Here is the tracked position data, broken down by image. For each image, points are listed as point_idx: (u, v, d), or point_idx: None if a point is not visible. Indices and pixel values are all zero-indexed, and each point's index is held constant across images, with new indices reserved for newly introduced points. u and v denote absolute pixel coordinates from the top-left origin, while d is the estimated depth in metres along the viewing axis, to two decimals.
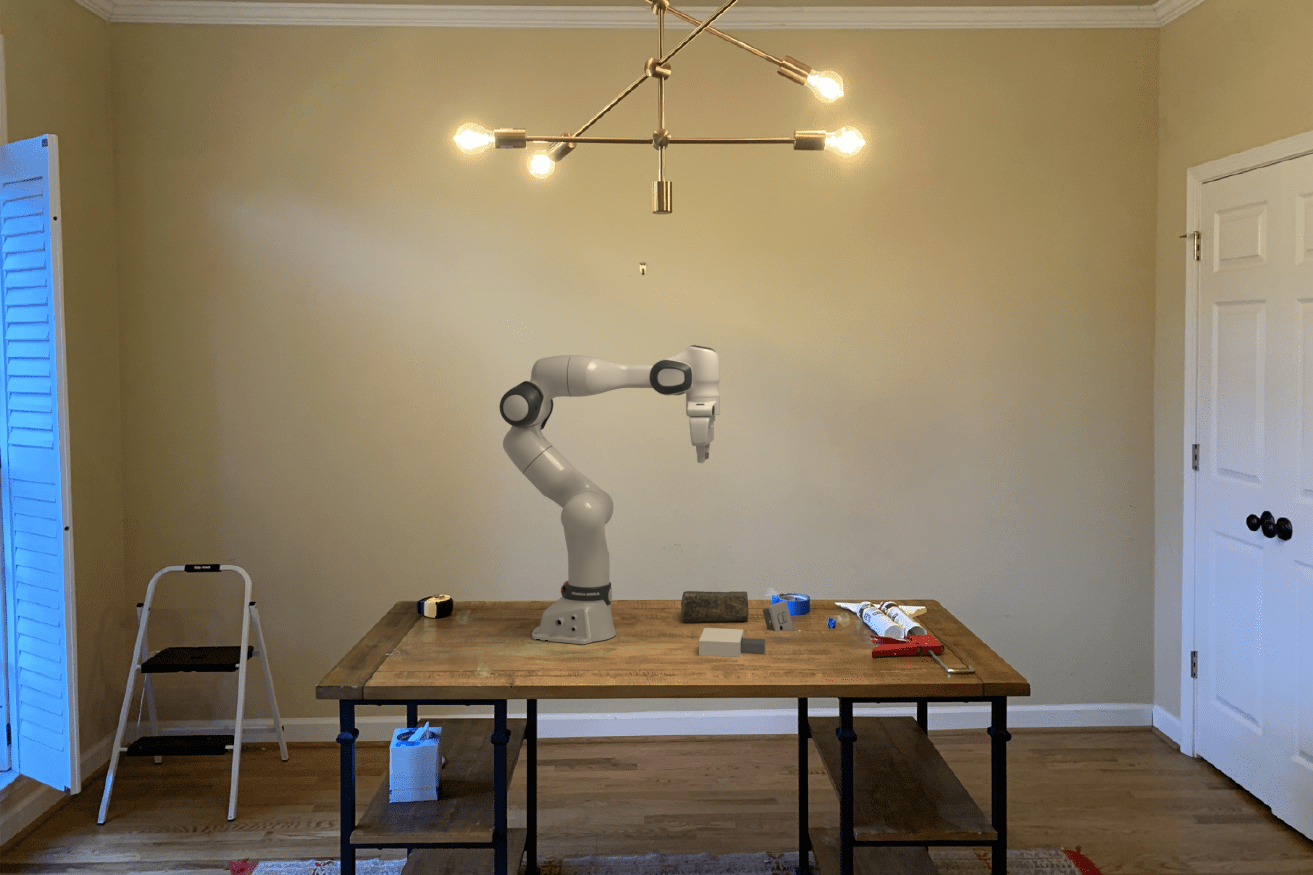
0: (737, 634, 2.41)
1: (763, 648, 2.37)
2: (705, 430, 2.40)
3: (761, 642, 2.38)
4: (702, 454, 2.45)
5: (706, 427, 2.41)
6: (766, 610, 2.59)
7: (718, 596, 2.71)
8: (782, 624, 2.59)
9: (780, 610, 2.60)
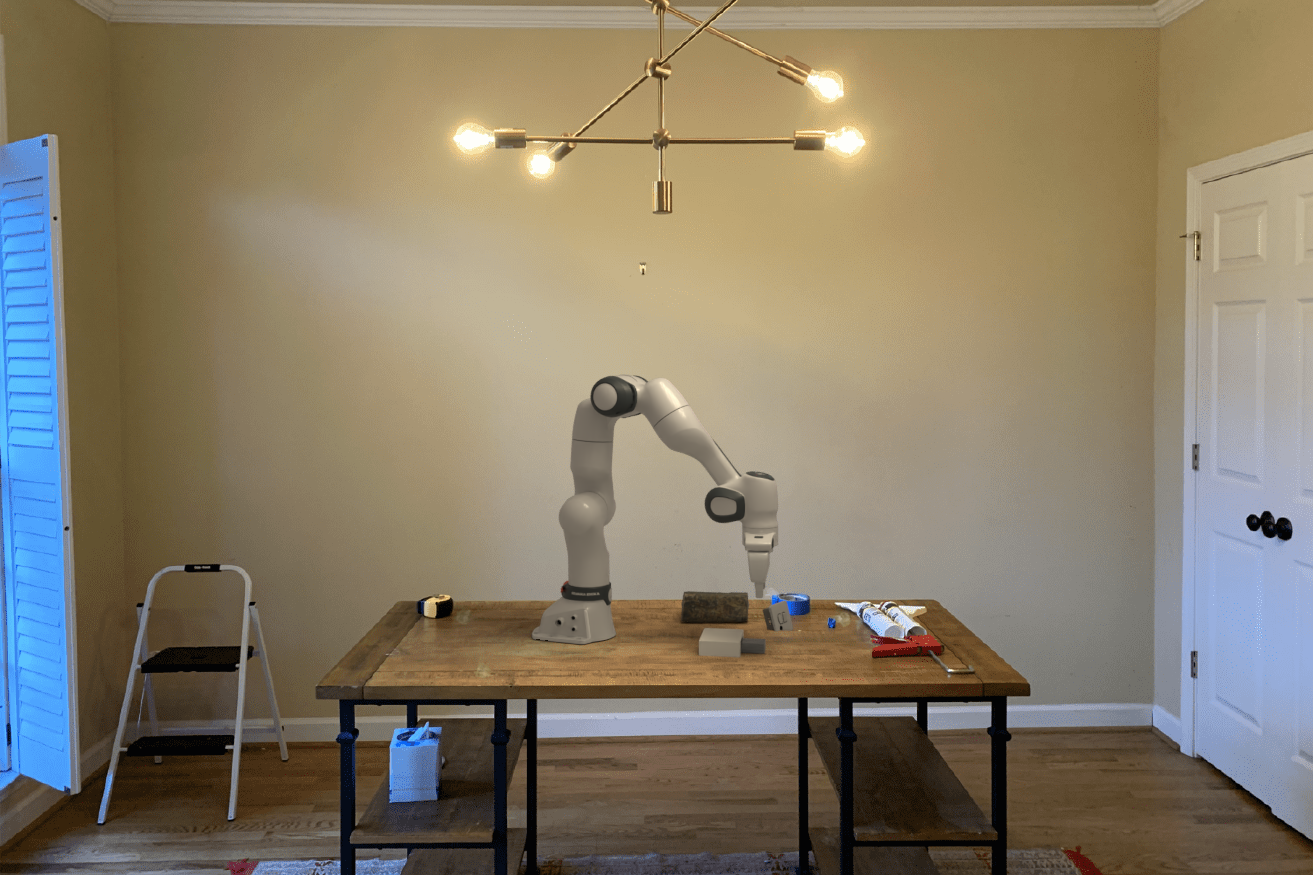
0: (737, 634, 2.41)
1: (763, 648, 2.37)
2: (765, 566, 2.28)
3: (761, 642, 2.38)
4: (761, 589, 2.32)
5: (766, 563, 2.28)
6: (766, 610, 2.59)
7: (717, 597, 2.70)
8: (782, 624, 2.59)
9: (780, 610, 2.60)
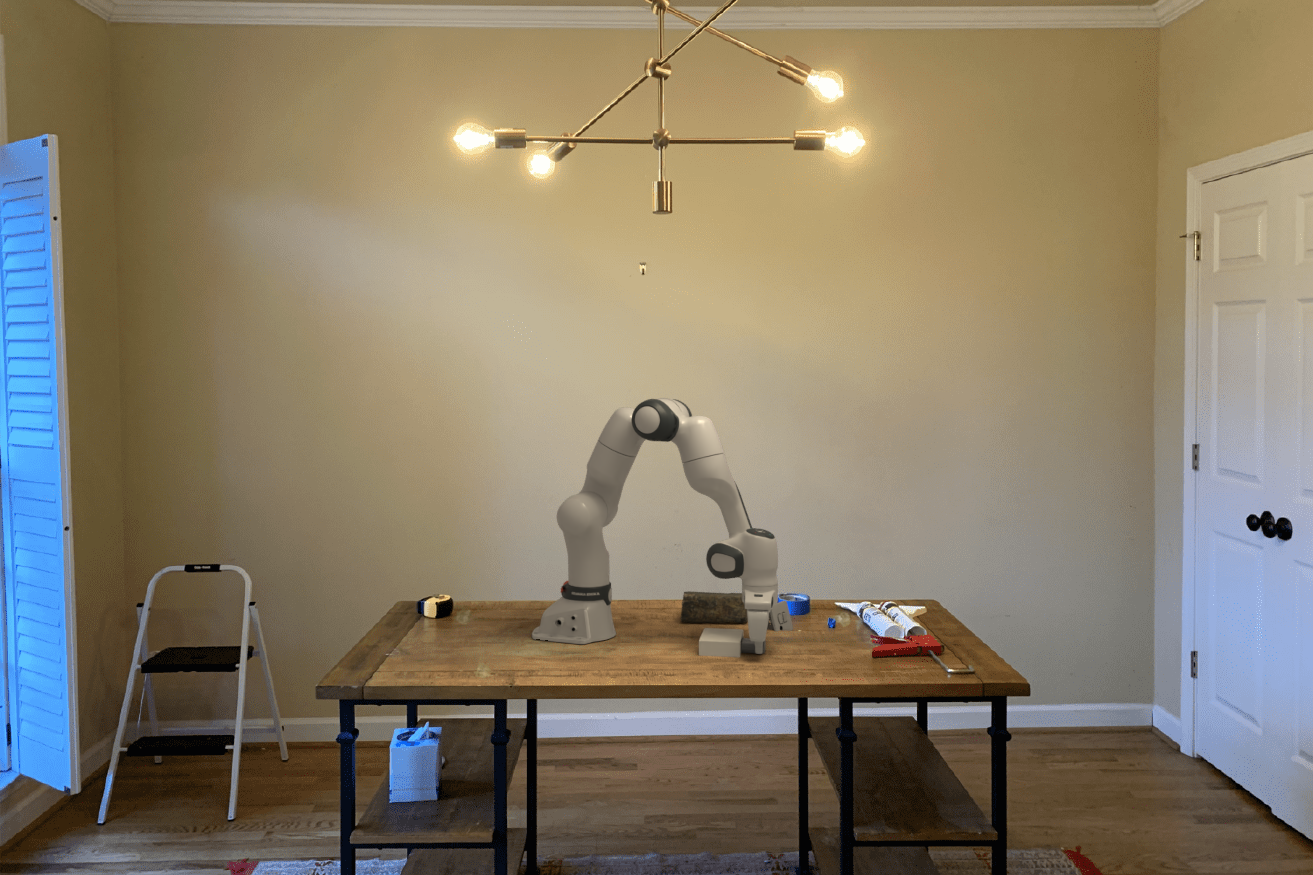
0: (737, 634, 2.41)
1: (763, 648, 2.37)
2: (764, 625, 2.29)
3: None
4: (760, 645, 2.35)
5: (765, 622, 2.29)
6: None
7: (716, 597, 2.69)
8: (782, 624, 2.59)
9: (780, 610, 2.60)
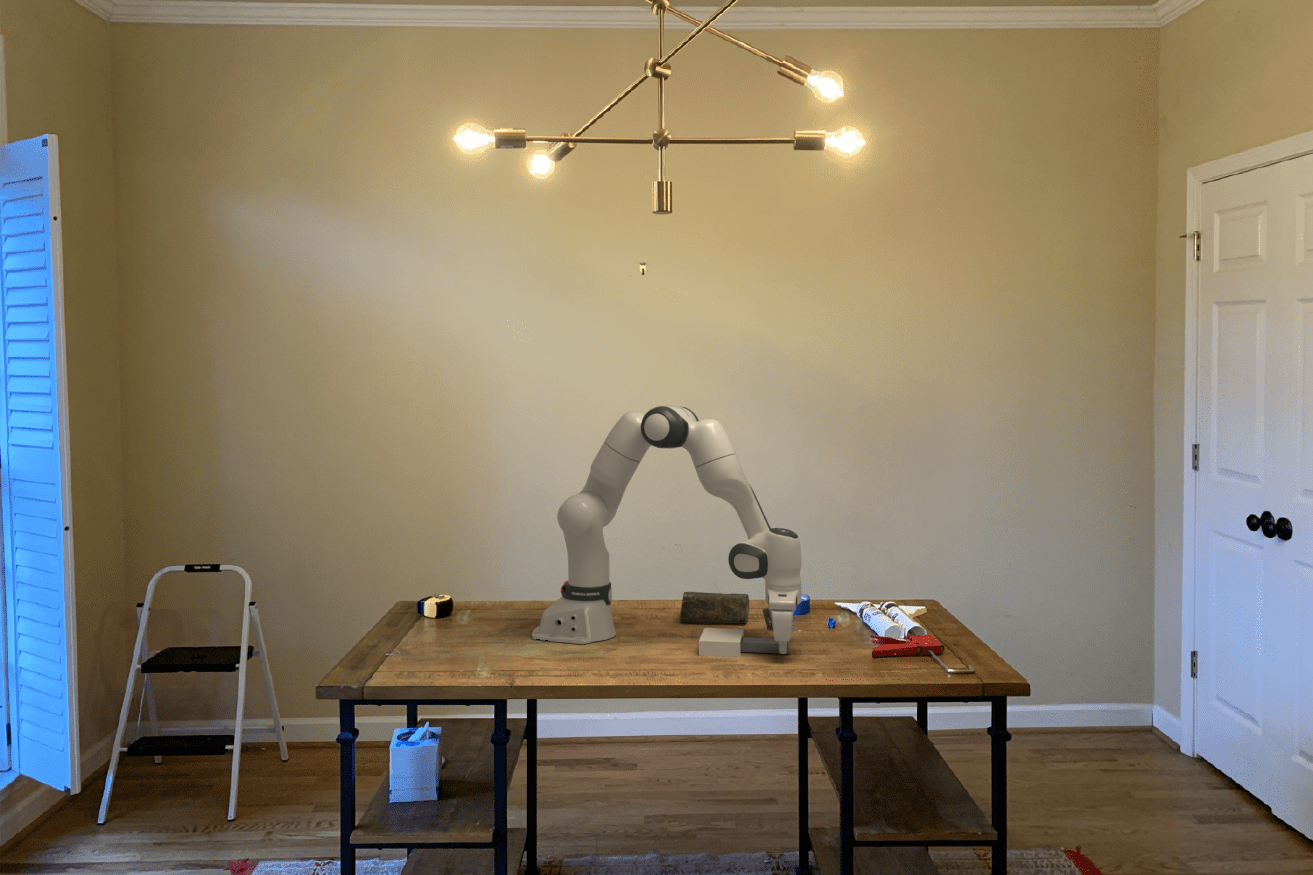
0: (737, 634, 2.41)
1: (787, 648, 2.36)
2: (789, 625, 2.27)
3: None
4: (784, 645, 2.34)
5: (790, 622, 2.28)
6: (766, 610, 2.59)
7: (715, 598, 2.69)
8: None
9: None
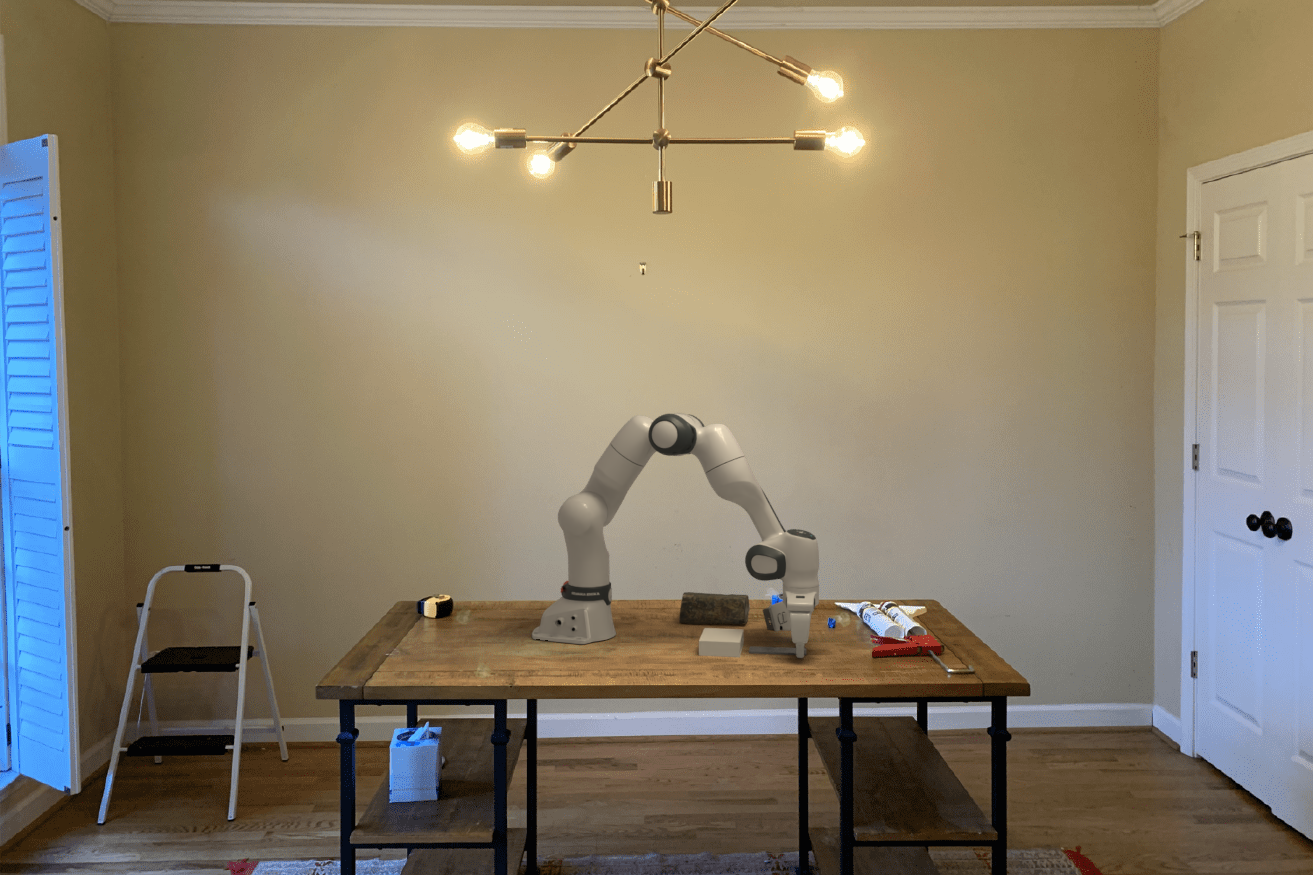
0: (737, 634, 2.41)
1: None
2: (807, 627, 2.27)
3: None
4: (802, 649, 2.31)
5: (808, 624, 2.27)
6: (766, 610, 2.59)
7: (715, 598, 2.68)
8: (782, 624, 2.59)
9: (780, 610, 2.60)
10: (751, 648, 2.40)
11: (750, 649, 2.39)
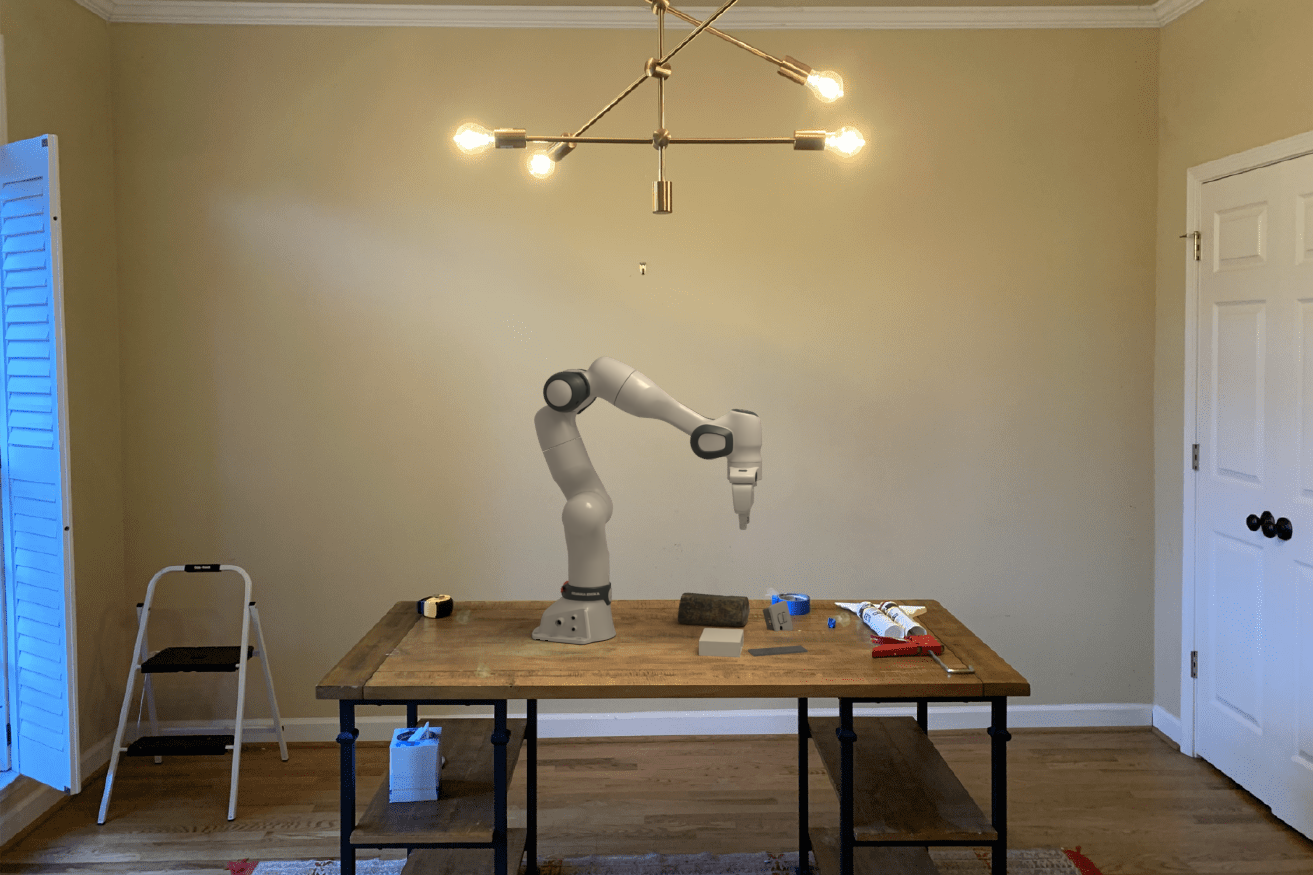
0: (737, 634, 2.41)
1: None
2: (748, 498, 2.36)
3: (802, 649, 2.39)
4: (744, 521, 2.41)
5: (749, 495, 2.36)
6: (766, 610, 2.59)
7: (713, 599, 2.67)
8: (782, 624, 2.59)
9: (780, 610, 2.60)
10: (752, 650, 2.37)
11: (752, 652, 2.36)
